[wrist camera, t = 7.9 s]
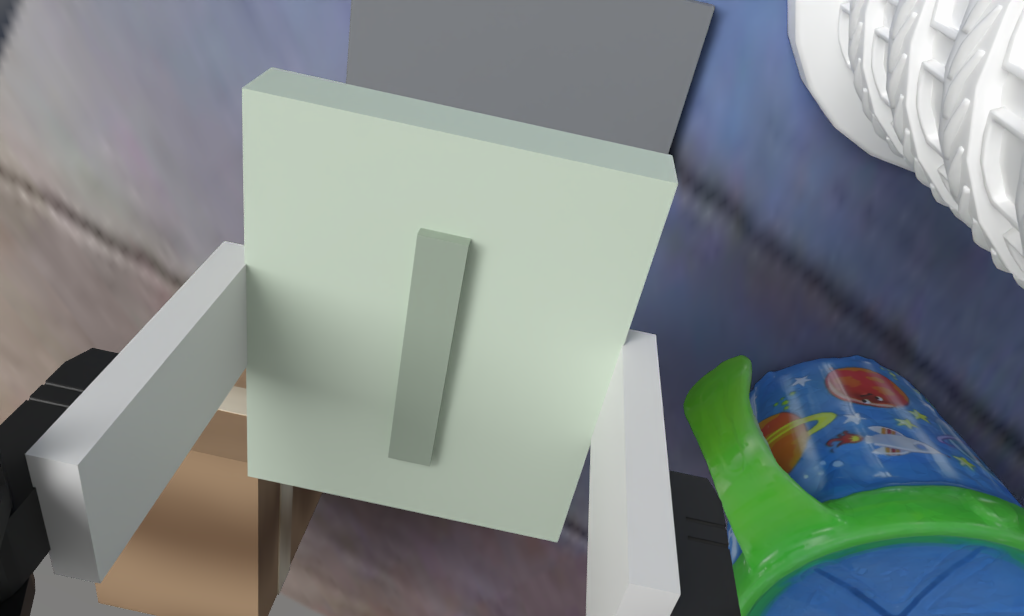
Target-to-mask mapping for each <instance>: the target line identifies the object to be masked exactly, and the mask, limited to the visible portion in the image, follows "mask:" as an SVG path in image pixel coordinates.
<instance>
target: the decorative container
mask: <svg viewBox="0 0 1024 616" xmlns="http://www.w3.org/2000/svg"><path fill="white" fill-rule="evenodd" d="M787 4H788V37H789V40H790V43H791V47H792V50H793V54H794V57H795V60H796V64H797V67H798V71H799V74H800V77H801V80H802V81H803V83H804V84H805V86H806V87H807V89H808V90H809V92H810V93H811V95H812V96H813V98H814V99H815V101H816V102H817V104H818V105H819V107H820V108H821V110H822V111H823V113H824V114H825V116H826V117H827V118H828V120H829V121H830V122H831V123H832V125H833V126H834V127H835V128H836V129H837V130H838V131H840V132H841V133H842V134H844V135H845V136H846V137H847V138H849V139H850V140H851V141H853V142H854V143H855V144H856V145H858V146H859V147H860V148H861V149H863V150H864V151H865V152H867V153H868V154H869V155H871V156H873V157H876V158H878V159H881V160H884V161H886V162H889V163H891V164H894V165H896V166H899V167H902V168H904V169H907V170H909V171H912V172H915V174H916V178H917V179H918V180H919V181H920V182H921V183H922V184H923V185H925V186H927V187H929V188H931V191H932V195H933V197H934V198H935V200H936V201H937V202H938V203H940V204H942V205H944V206H947V207H950V209H951V211H952V212H953V214H954V215H955V216H956V217H957V218H958V219H959V220H961V221H963V222H964V223H965V224H966V225H967V226H968V227H969V228H971V229H972V235H973V241H974V242H975V243H976V244H977V245H978V246H979V247H981V248H983V249H985V250H987V251H990V252H991V256H992V260H993V263H994V264H995V266H996V268H998V269H1000V270H1002V271H1005V272H1007V273H1012V274H1013V277H1014V279H1015V280H1016V282H1017V284H1018V285H1019V286H1021V287H1022V288H1023V289H1024V0H787Z"/></svg>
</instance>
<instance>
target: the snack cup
mask: <svg viewBox="0 0 1024 616" xmlns="http://www.w3.org/2000/svg"><path fill="white" fill-rule="evenodd" d="M751 379H752V364H751V361H750V360H749V359H748V358H747V357H746V356H743V355H739V356H737V357H734V358H731V359H728V360H726V361H724V362H722V363H720V364H719V365H718V366H717V367H716V368H715V369H714V370H712V371H710V372H708V373H707V374H706V375H705V376H704V377H702V378H701V379H700V380H699V381H698V382H697V383H696V384H695V385H694V386H693V387H692V388H691V389H690V391H689V392H688V394H687V396H686V399H685V401H684V412H685V416H686V418H687V420H688V422H689V424H690V426H691V429H692V431H693V433H694V435H695V437H696V439H697V441H698V444H699V446H700V449H701V451H702V453H703V456H704V458H705V460H706V462H707V464H708V468H709V471H710V473H711V476H712V479H713V481H714V485H715V488H716V491H717V493H718V496H719V498H720V500H721V502H722V506H723V509H724V511H725V514H726V516H727V518H728V523H727V536H728V542H729V545H728V549H730V554H731V560H732V566H733V572H734V578H735V583H736V589H737V595H738V601H739V607H740V613H741V616H1024V508H1022V506H1021V505H1020V504H1019V503H1018V501H1017V500H1016V499H1015V498H1014V497H1013V496H1012V494H1011V493H1010V492H1009V491H1008V489H1007V488H1006V487H1005V486H1004V484H1003V483H1002V482H1001V481H1000V480H999V479H998V478H997V477H996V476H995V475H994V473H993V472H992V471H991V470H990V469H989V468H988V467H987V466H986V465H985V463H984V462H983V461H982V460H981V459H980V458H979V457H978V456H977V455H976V453H975V452H974V451H973V450H972V449H971V448H970V447H969V445H968V444H967V443H966V442H965V441H964V440H963V439H962V438H961V437H960V435H959V434H958V433H957V432H956V431H955V430H954V429H953V428H952V426H951V425H949V424H948V423H947V422H946V421H945V420H944V419H943V418H942V417H941V416H940V415H939V414H938V412H937V410H936V409H935V408H934V406H933V405H932V404H931V403H930V402H929V401H928V400H927V399H925V397H924V396H923V395H922V394H921V393H920V392H919V391H918V390H917V389H916V388H915V387H914V386H913V385H912V384H910V383H909V382H908V381H907V380H906V379H905V378H903V377H902V376H900V375H898V374H897V373H896V372H894V371H892V370H889V369H887V368H885V367H883V366H881V365H879V364H878V363H877V362H876V361H874V360H873V359H867V358H864V357H861V356H858V355H853V356H851V357H843V358H834V357H833V358H821V359H816V360H812V361H807V362H803V363H799V364H796V365H793V366H790V367H787V368H784V369H782V370H779V371H775V372H771V371H770V372H768V373H767V374H766V375H764V376H763V378H762V379H761V380H760V381H759V382H757V383H756V384H755V386H754V389H753V390H752V391H751V392H750V386H751Z"/></svg>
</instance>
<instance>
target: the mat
mask: <svg viewBox="0 0 1024 616" xmlns="http://www.w3.org/2000/svg"><path fill="white" fill-rule="evenodd" d="M714 9H715V7H714V5H712V4H708V3H703V2H699V1H694V0H352V1H351V16H350V32H349V47H348V62H347V78H346V84H350V85H354V86H359V87H364V88H368V89H373V90H377V91H382V92H386V93H391V94H395V95H400V96H404V97H409V98H414V99H418V100H423V101H427V102H432V103H436V104H441V105H445V106H450V107H454V108H459V109H464V110H468V111H473V112H477V113H482V114H486V115H491V116H495V117H500V118H504V119H509V120H514V121H518V122H523V123H527V124H532V125H536V126H541V127H545V128H550V129H555V130H559V131H564V132H568V133H573V134H577V135H582V136H586V137H591V138H595V139H600V140H605V141H609V142H614V143H618V144H623V145H627V146H632V147H636V148H641V149H645V150H650V151H655V152H659V153H664V154H668V153H669V150H670V147H671V143H672V140H673V137H674V134H675V131H676V128H677V125H678V122H679V118H680V115H681V112H682V109H683V106H684V103H685V100H686V96H687V93H688V90H689V87H690V84H691V81H692V78H693V75H694V71H695V68H696V65H697V62H698V59H699V56H700V53H701V49H702V46H703V43H704V40H705V37H706V34H707V31H708V28H709V24H710V21H711V18H712V15H713V12H714Z"/></svg>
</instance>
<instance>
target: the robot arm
mask: <svg viewBox="0 0 1024 616" xmlns="http://www.w3.org/2000/svg"><path fill="white" fill-rule="evenodd" d="M246 367H247V302H246V264H245V256H244V245H241V244H236V243H232V242H227V241H224V242H223V243H222V244H221V245H220V246H219V247H218V248H217V249H216V250H215V252H214V253H213V254H212V255H211V256H210V257H209V258H208V259H207V260H206V261H205V262H204V263H203V264H202V265H201V266H200V268H199V269H198V270H197V271H196V272H195V273H194V274H193V275H192V276H191V277H190V278H189V279H188V280H187V281H186V283H185V284H184V285H183V286H182V287H181V288H180V289H179V290H178V291H177V292H176V293H175V294H174V295H173V296H172V297H171V299H170V300H169V301H168V302H167V303H166V304H165V305H164V306H163V307H162V308H161V309H160V310H159V311H158V312H157V313H156V315H155V316H154V317H153V318H152V319H151V320H150V321H149V322H148V323H147V324H146V325H145V326H144V327H143V328H142V330H141V331H140V332H139V333H138V334H137V335H136V336H135V337H134V338H133V339H132V340H131V341H130V342H129V343H128V344H127V346H126V347H125V348H124V349H123V350H122V351H121V352H120V353H114V352H109V351H105V350H100V349H95V348H92V349H90V350H88V351H86V352H84V353H82V354H80V355H78V356H76V357H74V358H72V359H70V360H68V361H66V362H65V363H64V364H62V365H61V366H60V367H59V368H58V369H57V370H56V371H55V372H54V373H53V374H52V375H51V376H50V377H49V378H48V379H47V380H46V383H45V385H41V386H40V387H39V388H38V389H37V390H36V391H35V392H34V393H33V394H32V395H31V396H30V399H29V401H27V400H26V401H25V402H24V403H23V404H22V405H21V406H20V407H18V408H17V409H16V410H15V411H14V412H13V413H12V414H11V415H10V416H9V417H8V418H7V419H6V420H5V421H4V422H3V423H2V424H1V425H0V616H30V612H31V608H32V604H33V599H34V595H35V579H34V575H33V572H34V570H35V569H36V568H37V566H38V565H39V564H40V562H41V561H42V560H43V559H44V557H45V556H46V555H47V554H48V552H49V554H50V559H51V562H52V567H53V571H54V574H57V575H62V576H66V577H71V578H76V579H81V580H85V581H90V582H95V583H99V584H100V583H101V582H102V580H103V579H104V577H105V576H106V575H107V573H108V572H109V570H110V569H111V567H112V566H113V564H114V563H115V561H116V560H117V558H118V557H119V555H120V554H121V552H122V551H123V549H124V548H125V546H126V545H127V543H128V542H129V540H130V539H131V537H132V536H133V534H134V533H135V531H136V530H137V529H138V527H139V526H140V524H141V523H142V521H143V520H144V518H145V517H146V515H147V514H148V512H149V511H150V509H151V508H152V506H153V505H154V503H155V502H156V500H157V499H158V497H159V496H160V494H161V493H162V491H163V490H164V488H165V487H166V485H167V484H168V483H169V481H170V480H171V478H172V477H173V475H174V474H175V472H176V471H177V469H178V468H179V466H180V465H181V463H182V462H183V460H184V459H185V457H186V456H187V454H188V453H189V451H190V450H191V448H192V447H193V445H194V444H195V442H196V441H197V440H198V438H199V437H200V435H201V434H202V432H203V431H204V429H205V428H206V426H207V425H208V423H209V422H210V420H211V419H212V417H213V416H214V414H215V413H216V411H217V410H218V408H219V407H220V405H221V404H222V402H223V401H224V399H225V398H226V396H227V395H228V394H229V392H230V391H231V389H232V388H233V386H234V385H235V383H236V382H237V380H238V379H239V377H240V376H241V374H242V373H243V371H244V370H245V368H246ZM725 526H726V525H725V519H724V513H723V507H722V502H721V500H720V498H719V497H718V495H717V493H716V492H715V490H714V489H713V487H712V485H711V484H710V482H709V481H708V479H707V478H702V477H697V476H693V475H688V474H683V473H679V472H674V471H670V470H669V466H668V456H667V446H666V435H665V425H664V414H663V404H662V394H661V383H660V373H659V362H658V352H657V342H656V335H655V334H650V333H646V332H641V331H636V330H632V329H629V331H628V334H627V337H626V340H625V343H624V346H623V345H622V348H621V351H620V354H619V357H618V360H617V363H616V366H615V369H614V372H613V375H612V378H611V381H610V384H609V387H608V390H607V393H606V396H605V399H604V402H603V405H602V408H601V411H600V414H599V416H598V419H597V422H596V425H595V428H594V431H593V434H592V437H591V451H590V487H589V523H588V559H587V595H586V616H741V613H740V607H739V601H738V595H737V589H736V583H735V578H734V572H733V566H732V560H731V554H730V549H728V545H729V542H728V536H727V531H726V530H725Z"/></svg>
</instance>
